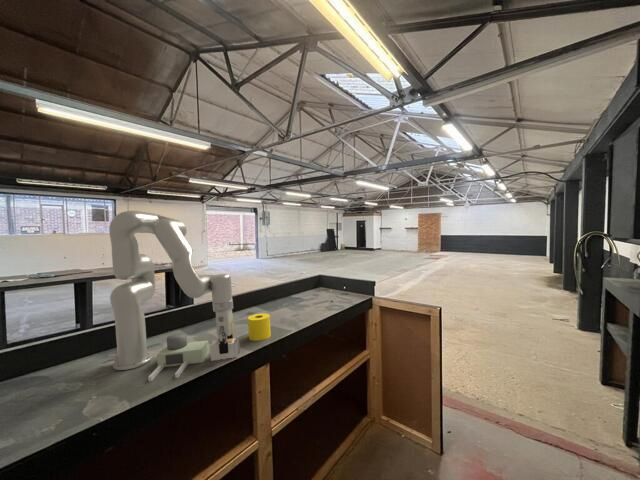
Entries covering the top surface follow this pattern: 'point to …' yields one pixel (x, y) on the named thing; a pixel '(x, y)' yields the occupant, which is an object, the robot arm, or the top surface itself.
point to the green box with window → (180, 354)
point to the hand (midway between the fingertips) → (226, 348)
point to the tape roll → (259, 327)
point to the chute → (232, 349)
